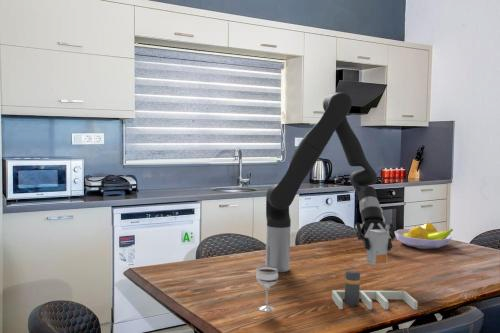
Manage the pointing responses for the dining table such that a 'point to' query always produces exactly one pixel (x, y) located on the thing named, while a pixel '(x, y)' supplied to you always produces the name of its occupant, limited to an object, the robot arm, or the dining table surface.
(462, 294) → the dining table surface
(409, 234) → the fruit bowl
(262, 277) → the wineglass
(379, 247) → the skincare box
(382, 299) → the rack
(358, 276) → the charcoal plug
